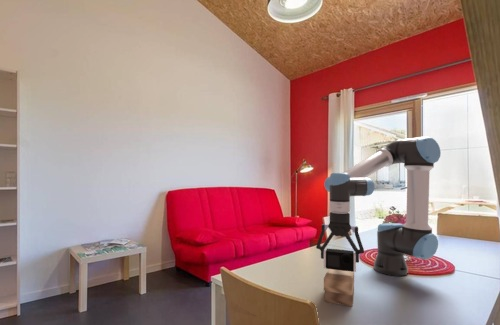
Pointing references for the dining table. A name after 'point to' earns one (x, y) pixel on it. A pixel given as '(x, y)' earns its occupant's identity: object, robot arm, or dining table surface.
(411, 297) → the dining table surface
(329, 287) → the tower top
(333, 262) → the digital camera
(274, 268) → the dining table surface
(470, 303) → the dining table surface
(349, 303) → the tower base
